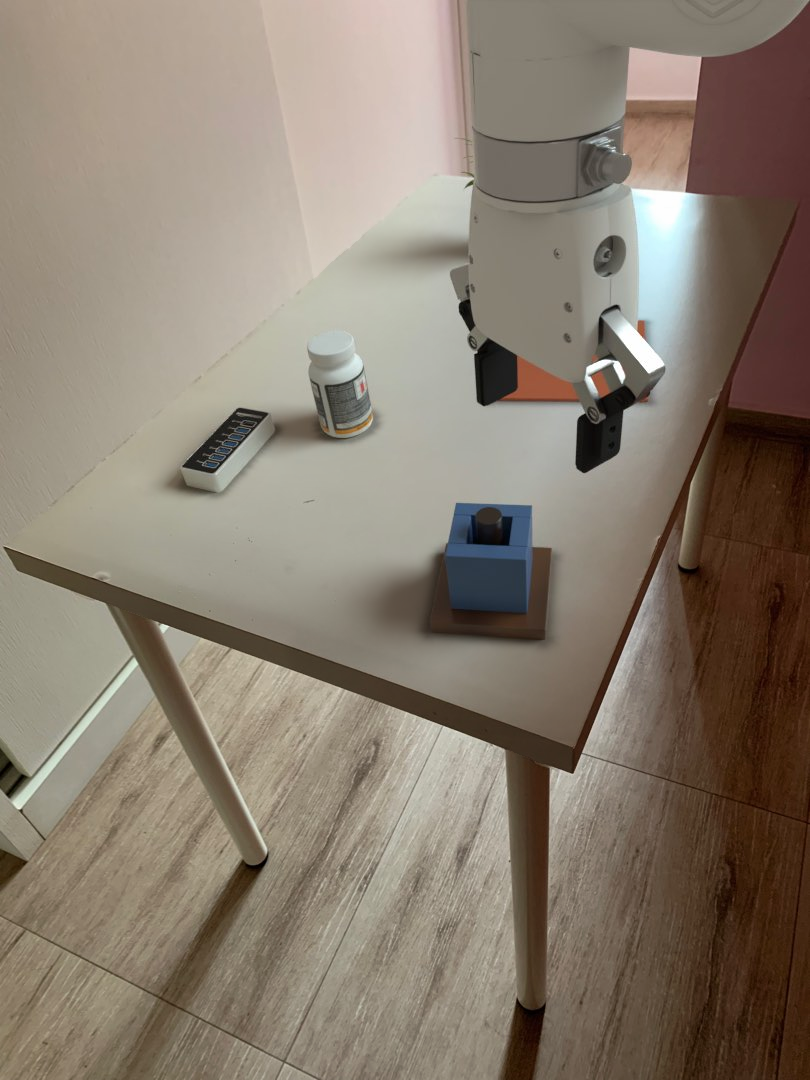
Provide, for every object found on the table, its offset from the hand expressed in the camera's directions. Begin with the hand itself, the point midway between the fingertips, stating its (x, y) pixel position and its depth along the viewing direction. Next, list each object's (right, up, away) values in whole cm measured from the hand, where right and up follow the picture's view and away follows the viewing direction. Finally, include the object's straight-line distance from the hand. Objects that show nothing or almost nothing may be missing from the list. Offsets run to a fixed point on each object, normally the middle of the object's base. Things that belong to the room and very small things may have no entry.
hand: (544, 427), depth 53 cm
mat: (+9, +13, +37) cm, 40 cm away
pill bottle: (-15, +5, +33) cm, 37 cm away
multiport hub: (-27, +1, +31) cm, 42 cm away
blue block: (-2, -11, +13) cm, 17 cm away
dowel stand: (-2, -12, +13) cm, 18 cm away
